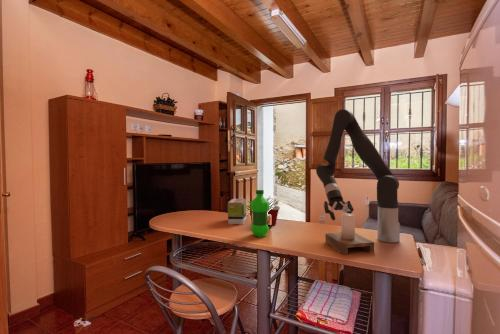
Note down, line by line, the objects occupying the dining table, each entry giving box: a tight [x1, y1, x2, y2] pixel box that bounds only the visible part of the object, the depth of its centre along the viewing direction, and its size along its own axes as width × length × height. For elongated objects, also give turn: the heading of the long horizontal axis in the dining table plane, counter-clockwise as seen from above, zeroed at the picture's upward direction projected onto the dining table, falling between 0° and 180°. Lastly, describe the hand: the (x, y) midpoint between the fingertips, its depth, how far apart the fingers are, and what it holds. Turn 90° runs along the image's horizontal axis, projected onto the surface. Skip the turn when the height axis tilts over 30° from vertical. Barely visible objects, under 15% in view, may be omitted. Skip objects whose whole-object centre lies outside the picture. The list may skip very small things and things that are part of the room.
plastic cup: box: [268, 205, 280, 227], centre depth 165 cm, size 11×11×12 cm
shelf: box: [324, 232, 375, 256], centre depth 123 cm, size 15×17×4 cm
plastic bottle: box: [249, 189, 270, 238], centre depth 143 cm, size 10×10×25 cm
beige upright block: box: [340, 212, 356, 240], centre depth 123 cm, size 6×6×11 cm
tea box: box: [227, 198, 247, 226], centre depth 174 cm, size 15×10×15 cm
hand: (342, 219), depth 130 cm, fingers open, 8 cm apart
